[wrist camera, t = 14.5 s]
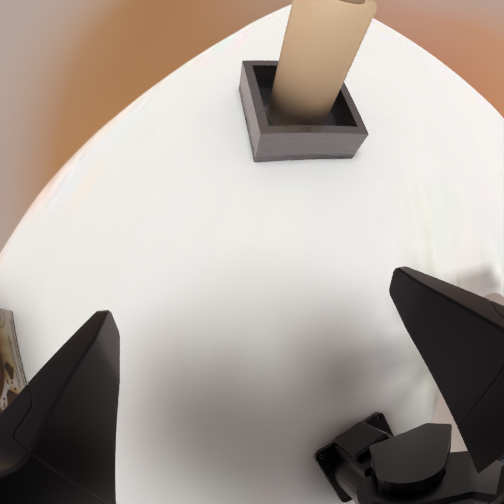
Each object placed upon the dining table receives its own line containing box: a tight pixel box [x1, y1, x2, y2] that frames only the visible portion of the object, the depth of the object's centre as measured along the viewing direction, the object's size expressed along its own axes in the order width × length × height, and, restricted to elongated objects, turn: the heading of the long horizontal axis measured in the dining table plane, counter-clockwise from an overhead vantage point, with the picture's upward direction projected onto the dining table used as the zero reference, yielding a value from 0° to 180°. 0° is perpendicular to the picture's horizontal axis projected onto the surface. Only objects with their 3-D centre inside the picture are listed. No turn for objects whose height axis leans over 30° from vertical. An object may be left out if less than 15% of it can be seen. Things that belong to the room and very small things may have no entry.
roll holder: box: [239, 61, 368, 162], centre depth 26 cm, size 10×10×4 cm
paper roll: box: [268, 0, 377, 126], centre depth 20 cm, size 6×6×14 cm
